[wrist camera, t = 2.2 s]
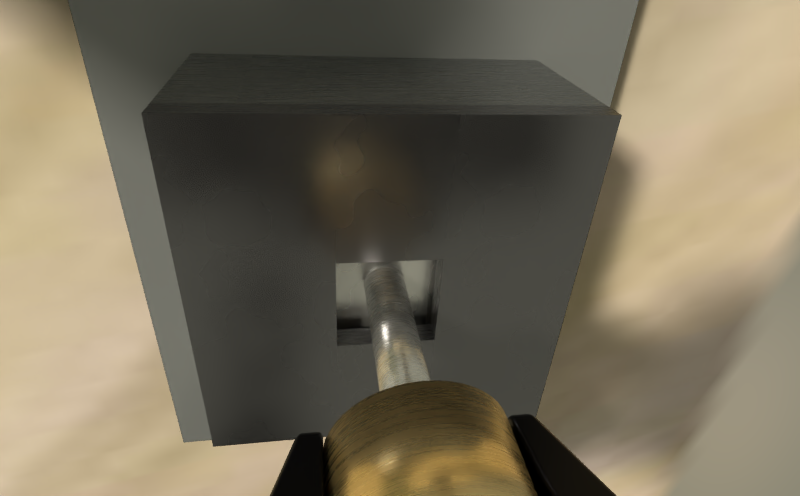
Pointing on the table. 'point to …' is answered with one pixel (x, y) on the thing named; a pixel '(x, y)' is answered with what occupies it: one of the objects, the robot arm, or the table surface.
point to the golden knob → (413, 403)
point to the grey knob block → (370, 221)
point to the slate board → (306, 36)
